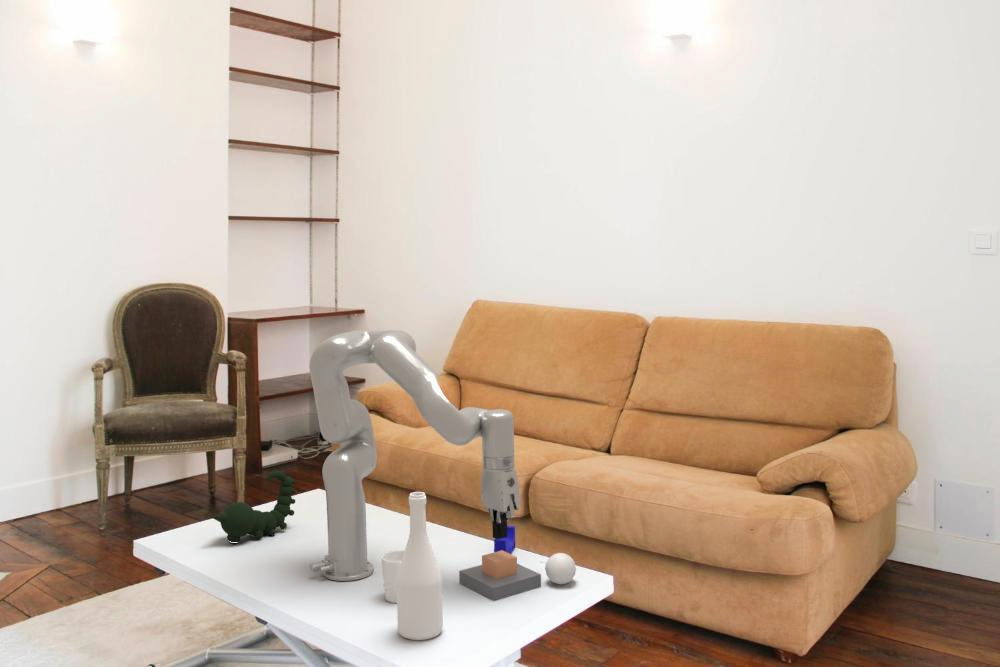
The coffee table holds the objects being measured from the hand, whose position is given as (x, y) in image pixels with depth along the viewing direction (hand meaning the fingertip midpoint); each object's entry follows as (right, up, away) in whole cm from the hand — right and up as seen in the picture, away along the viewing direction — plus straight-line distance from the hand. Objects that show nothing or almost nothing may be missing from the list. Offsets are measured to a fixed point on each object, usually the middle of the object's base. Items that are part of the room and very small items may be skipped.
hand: (500, 537), depth 219 cm
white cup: (-23, -13, -6) cm, 27 cm away
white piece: (+14, -12, +3) cm, 18 cm away
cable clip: (+1, -10, +23) cm, 25 cm away
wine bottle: (-17, -15, -25) cm, 33 cm away
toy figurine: (-69, -9, +39) cm, 79 cm away
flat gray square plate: (0, -12, +1) cm, 12 cm away
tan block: (0, -11, +1) cm, 12 cm away
